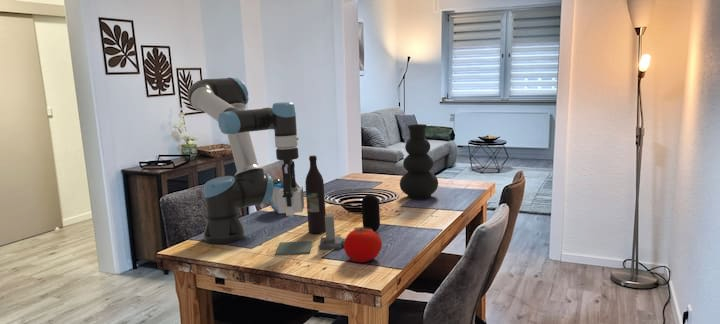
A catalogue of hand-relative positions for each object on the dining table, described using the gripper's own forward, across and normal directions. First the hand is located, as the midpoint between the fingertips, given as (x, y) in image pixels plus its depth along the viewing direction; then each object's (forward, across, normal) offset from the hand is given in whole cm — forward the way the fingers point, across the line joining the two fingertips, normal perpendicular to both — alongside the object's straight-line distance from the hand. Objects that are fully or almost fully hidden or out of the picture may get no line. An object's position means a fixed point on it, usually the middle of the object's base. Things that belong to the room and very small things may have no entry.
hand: (291, 211), depth 178 cm
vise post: (+13, +1, -19) cm, 23 cm away
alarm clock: (+13, +53, +11) cm, 56 cm away
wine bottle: (+14, +19, -7) cm, 24 cm away
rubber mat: (+13, 0, 0) cm, 13 cm away
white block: (-1, 0, 0) cm, 1 cm away
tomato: (+14, -15, -24) cm, 31 cm away
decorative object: (+14, +14, -28) cm, 34 cm away
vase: (+14, +66, -53) cm, 86 cm away
